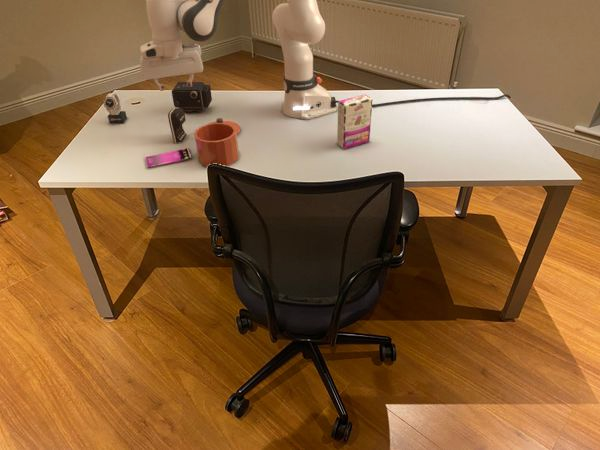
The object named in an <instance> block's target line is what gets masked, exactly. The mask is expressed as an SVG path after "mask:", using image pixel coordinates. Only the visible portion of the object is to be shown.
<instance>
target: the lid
mask: <svg viewBox="0 0 600 450" xmlns="http://www.w3.org/2000/svg"><path fill="white" fill-rule="evenodd" d="M211 123H226V124H230V125H232V126H233V127H234V128H235V129H236V135H237V136H238V134H239V133H240V132H241V126H240V124H239V123H237V122H235V121H231V120H223V118H221V117H218V118H216V119H215V121H212V122H209V123H208V124H211Z"/></svg>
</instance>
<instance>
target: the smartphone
mask: <svg viewBox="0 0 600 450" xmlns="http://www.w3.org/2000/svg"><path fill="white" fill-rule="evenodd" d="M192 159H193V155H192V152H191V149H190V148H189V147H187V148H182V149H178V150H177V149H176V150H173V151H168V152H164V153H163V152H162V153H158V154H153V155H149V156H145V160H146V166H147V168H149V169H150V168H154V167H159V166H164V165H168V164H174V163H178V162H183V161H187V160H192Z"/></svg>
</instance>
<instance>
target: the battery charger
mask: <svg viewBox="0 0 600 450" xmlns="http://www.w3.org/2000/svg"><path fill="white" fill-rule="evenodd" d="M167 119H168V123H169V128H170V129H169V130H170V132H171V137H172V141H173V143H175V144H177V143H178V144H179V143H183V142H184V140H185V139H186V138H187V132H186V131H185V130H184V127H183V125H184V123H185V122H186V120H187V119H186V115H185V110H183V109H181V108H179V107H172V108H171V110H170V111H169V112H168V114H167Z"/></svg>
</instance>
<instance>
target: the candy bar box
mask: <svg viewBox="0 0 600 450" xmlns="http://www.w3.org/2000/svg"><path fill="white" fill-rule="evenodd" d="M337 101H338V103H337V135H336V136H337V137H336V144H337V145H338V146H339V147H340V148H341V149H342V150H346V149H347V150H348V149H350V148H353V147H357V146H360V145H365V144H367V143H370V138H371V137H370V136H371V126H372V125H371V123H372V122H371V121H372V111H373V107H372V105H373V97H372V98H371V96H368V95H367V94H361V95H357V96H353V97H349V98H345V99H341V100H337Z"/></svg>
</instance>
